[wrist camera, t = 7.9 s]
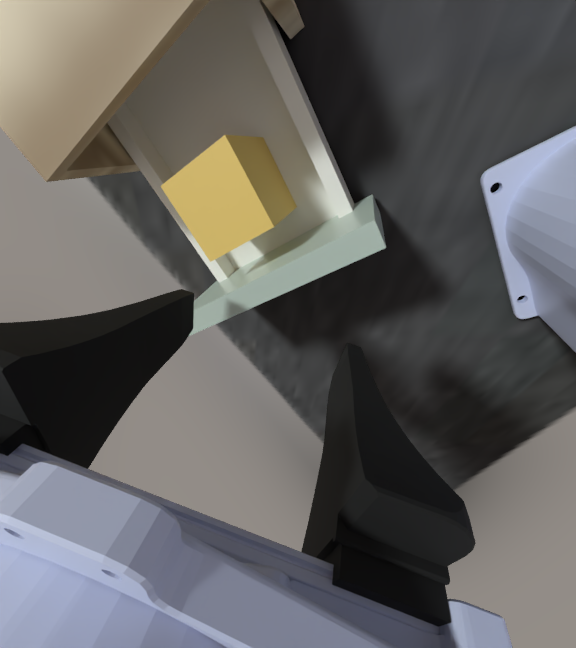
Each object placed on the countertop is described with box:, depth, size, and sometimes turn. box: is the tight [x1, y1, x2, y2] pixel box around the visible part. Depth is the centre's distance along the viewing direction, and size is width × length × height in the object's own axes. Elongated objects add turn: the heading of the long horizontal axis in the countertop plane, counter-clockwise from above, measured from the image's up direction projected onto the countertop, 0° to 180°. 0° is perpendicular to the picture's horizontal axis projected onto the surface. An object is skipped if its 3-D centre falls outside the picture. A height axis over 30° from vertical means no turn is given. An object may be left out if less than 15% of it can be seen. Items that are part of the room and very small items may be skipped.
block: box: [160, 135, 297, 262], centre depth 15 cm, size 4×4×5 cm
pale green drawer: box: [107, 0, 386, 336], centre depth 14 cm, size 14×12×7 cm
